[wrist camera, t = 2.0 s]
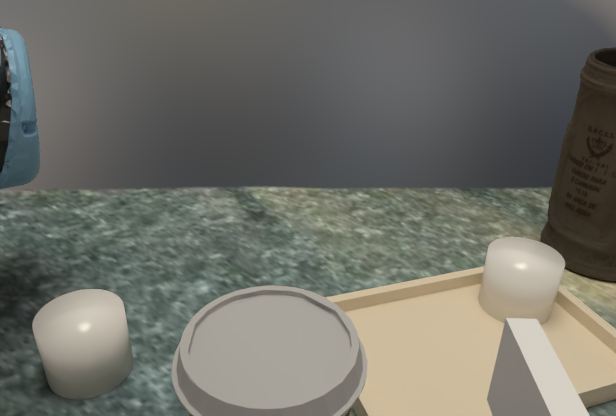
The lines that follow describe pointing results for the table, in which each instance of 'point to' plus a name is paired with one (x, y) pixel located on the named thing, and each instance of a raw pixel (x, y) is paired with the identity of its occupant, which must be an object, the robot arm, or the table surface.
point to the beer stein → (588, 176)
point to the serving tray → (462, 346)
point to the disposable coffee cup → (269, 356)
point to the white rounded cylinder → (520, 279)
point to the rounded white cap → (84, 343)
